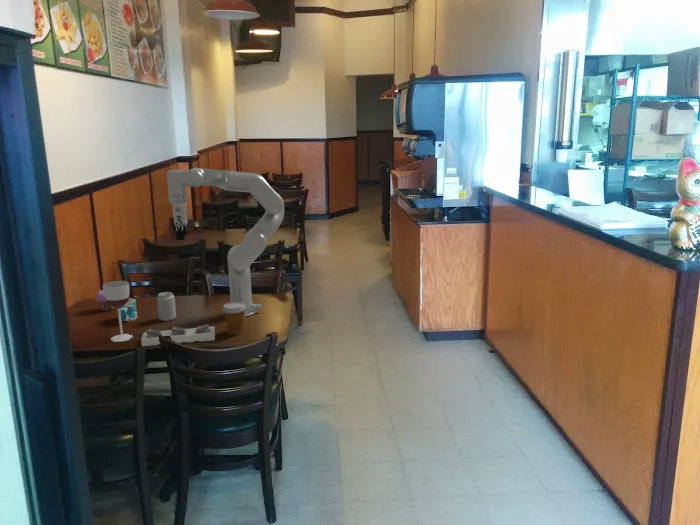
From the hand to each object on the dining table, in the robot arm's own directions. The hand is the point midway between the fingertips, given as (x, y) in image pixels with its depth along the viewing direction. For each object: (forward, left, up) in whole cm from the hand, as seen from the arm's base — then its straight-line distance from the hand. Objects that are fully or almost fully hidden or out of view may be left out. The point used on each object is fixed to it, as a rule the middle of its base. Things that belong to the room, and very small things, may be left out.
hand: (181, 237), depth 251 cm
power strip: (+2, +28, -37) cm, 46 cm away
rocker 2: (-8, +29, -32) cm, 44 cm away
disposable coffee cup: (-21, +25, -37) cm, 49 cm away
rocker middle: (+2, +29, -32) cm, 43 cm away
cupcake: (+39, -21, -37) cm, 58 cm away
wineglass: (+25, +20, -37) cm, 49 cm away
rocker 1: (+11, +29, -32) cm, 45 cm away
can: (+9, 0, -37) cm, 38 cm away
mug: (+27, -3, -37) cm, 46 cm away
